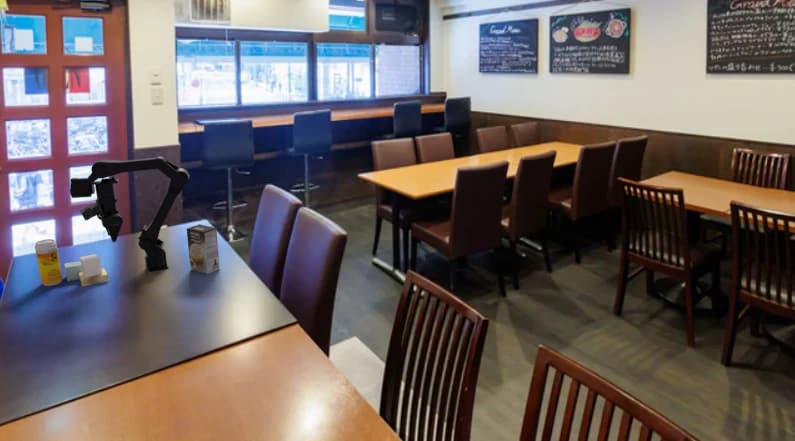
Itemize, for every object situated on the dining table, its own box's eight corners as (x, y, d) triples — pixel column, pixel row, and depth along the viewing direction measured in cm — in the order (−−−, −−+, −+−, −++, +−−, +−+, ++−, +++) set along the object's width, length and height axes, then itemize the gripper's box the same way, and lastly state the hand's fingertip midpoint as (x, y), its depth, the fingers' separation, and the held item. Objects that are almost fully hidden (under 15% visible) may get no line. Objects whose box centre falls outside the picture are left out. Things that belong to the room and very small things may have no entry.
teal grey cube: (82, 274, 193) (80, 260, 192) (84, 278, 189) (82, 264, 188) (66, 276, 190) (64, 263, 189) (67, 281, 187) (65, 267, 185)
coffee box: (189, 270, 197) (185, 228, 193) (203, 264, 203) (199, 223, 198) (207, 274, 193) (203, 231, 189) (220, 269, 199) (217, 227, 194)
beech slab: (105, 275, 193) (104, 268, 192) (108, 282, 187) (107, 274, 186) (79, 280, 188) (78, 272, 188) (82, 287, 182) (81, 279, 181)
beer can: (52, 287, 181) (45, 245, 177) (37, 285, 182) (29, 243, 178) (66, 280, 187) (59, 239, 183) (51, 279, 188) (44, 238, 184)
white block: (98, 270, 190) (95, 254, 188) (102, 273, 186) (99, 257, 184) (82, 273, 187) (79, 257, 185) (86, 277, 183) (83, 260, 181)
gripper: (76, 194, 191) (83, 236, 195) (82, 204, 176) (89, 249, 180) (111, 190, 197) (117, 231, 201) (120, 200, 182) (126, 243, 187)
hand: (112, 238), depth 192 cm, fingers open, 9 cm apart
